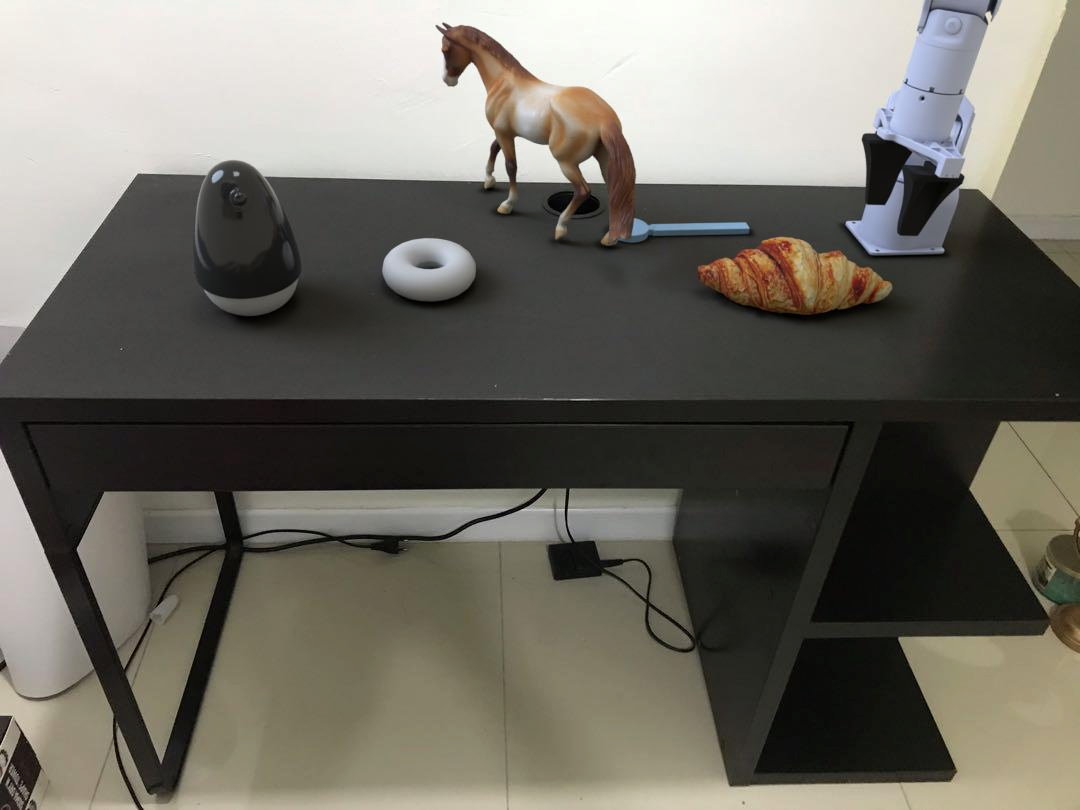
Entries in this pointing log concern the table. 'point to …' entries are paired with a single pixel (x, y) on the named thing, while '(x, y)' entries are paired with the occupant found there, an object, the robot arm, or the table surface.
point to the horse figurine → (546, 126)
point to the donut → (429, 269)
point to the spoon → (684, 229)
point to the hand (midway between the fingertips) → (890, 218)
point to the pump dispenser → (243, 242)
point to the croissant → (793, 278)
